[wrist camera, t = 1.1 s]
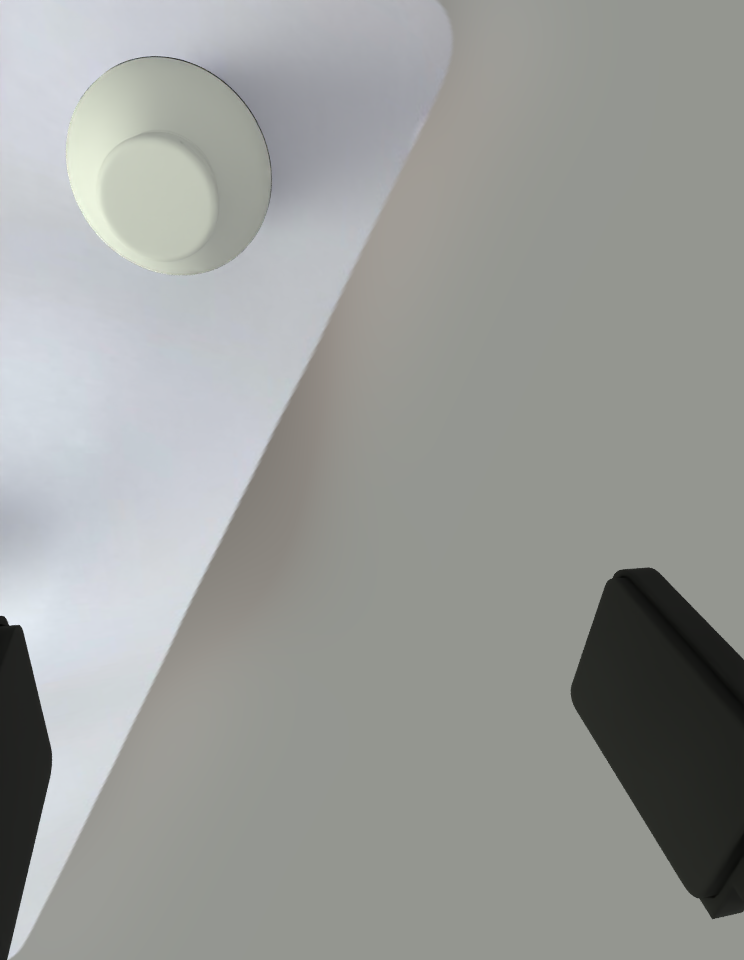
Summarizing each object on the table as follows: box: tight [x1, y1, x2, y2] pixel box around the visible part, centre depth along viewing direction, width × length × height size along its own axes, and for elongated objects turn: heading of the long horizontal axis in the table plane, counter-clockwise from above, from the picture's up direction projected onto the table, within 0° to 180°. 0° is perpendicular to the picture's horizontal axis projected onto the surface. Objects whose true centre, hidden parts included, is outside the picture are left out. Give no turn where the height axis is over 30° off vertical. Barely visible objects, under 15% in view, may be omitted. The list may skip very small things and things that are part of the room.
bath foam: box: [66, 56, 272, 275], centre depth 24 cm, size 7×7×20 cm
